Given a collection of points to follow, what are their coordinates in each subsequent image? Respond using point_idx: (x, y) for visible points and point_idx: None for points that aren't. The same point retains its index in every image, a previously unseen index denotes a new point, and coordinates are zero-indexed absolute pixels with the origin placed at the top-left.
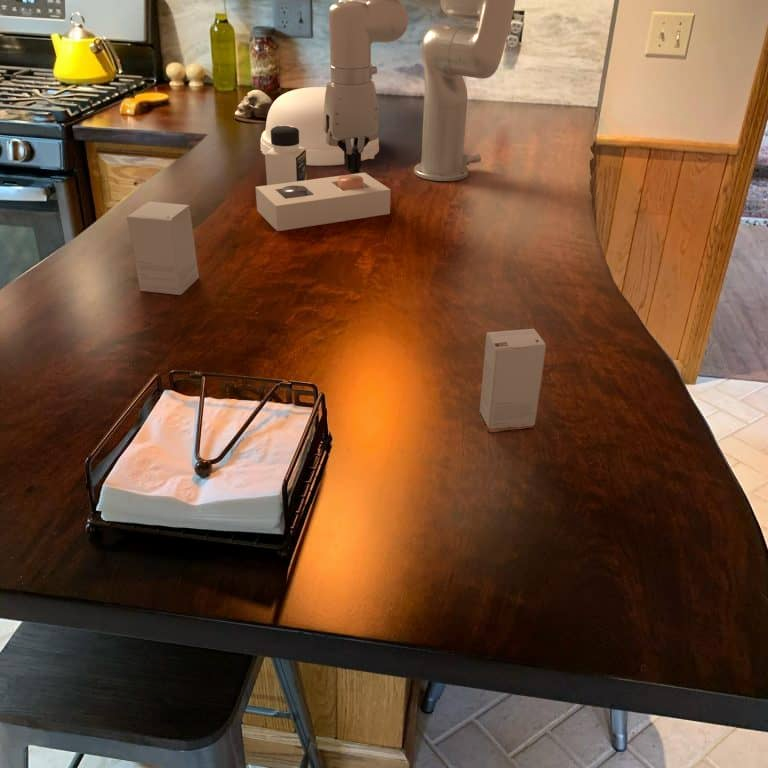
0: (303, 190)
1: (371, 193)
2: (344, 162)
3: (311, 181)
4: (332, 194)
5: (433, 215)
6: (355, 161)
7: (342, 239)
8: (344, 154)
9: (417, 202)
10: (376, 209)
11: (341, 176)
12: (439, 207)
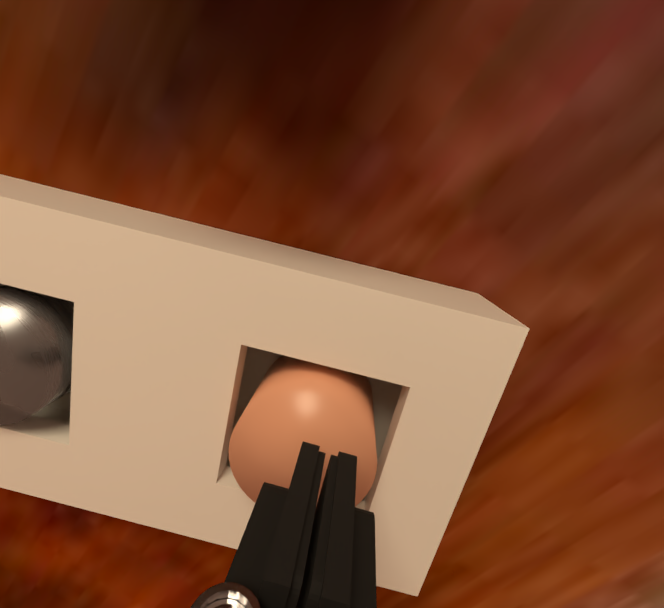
0: (16, 402)
1: None
2: (255, 506)
3: (146, 270)
4: (145, 489)
5: (510, 588)
6: (297, 602)
7: (140, 549)
8: (227, 580)
9: (582, 480)
10: None
11: (281, 401)
12: (596, 558)
